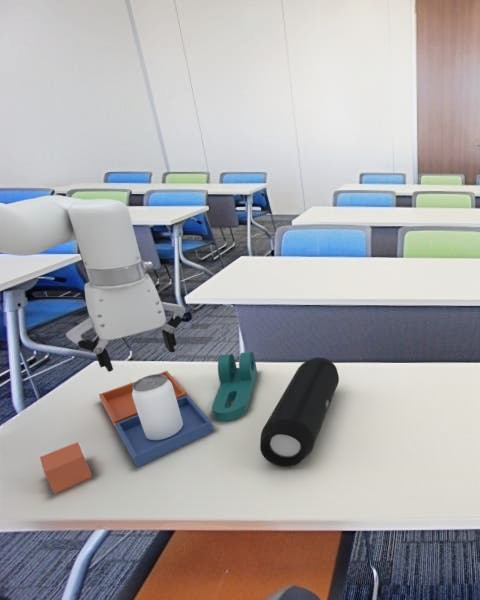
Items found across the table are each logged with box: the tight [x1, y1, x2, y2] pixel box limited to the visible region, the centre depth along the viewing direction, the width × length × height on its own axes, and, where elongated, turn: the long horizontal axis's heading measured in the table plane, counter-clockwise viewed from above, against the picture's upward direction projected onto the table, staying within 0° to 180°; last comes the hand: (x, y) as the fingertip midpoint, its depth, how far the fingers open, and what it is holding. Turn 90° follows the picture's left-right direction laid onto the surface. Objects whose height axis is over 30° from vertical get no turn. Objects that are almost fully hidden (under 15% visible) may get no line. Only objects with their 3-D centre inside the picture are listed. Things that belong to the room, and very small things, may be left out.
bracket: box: [211, 351, 258, 422], centre depth 92 cm, size 18×7×8 cm, turn 16°
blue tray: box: [115, 394, 214, 468], centre depth 82 cm, size 13×13×2 cm
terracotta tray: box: [98, 370, 188, 431], centre depth 90 cm, size 13×13×2 cm
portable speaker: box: [259, 357, 340, 468], centre depth 84 cm, size 26×10×10 cm, turn 2°
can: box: [132, 373, 183, 441], centre depth 80 cm, size 6×6×12 cm
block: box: [39, 441, 93, 495], centre depth 70 cm, size 5×5×5 cm
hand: (141, 358), depth 75 cm, fingers open, 9 cm apart
